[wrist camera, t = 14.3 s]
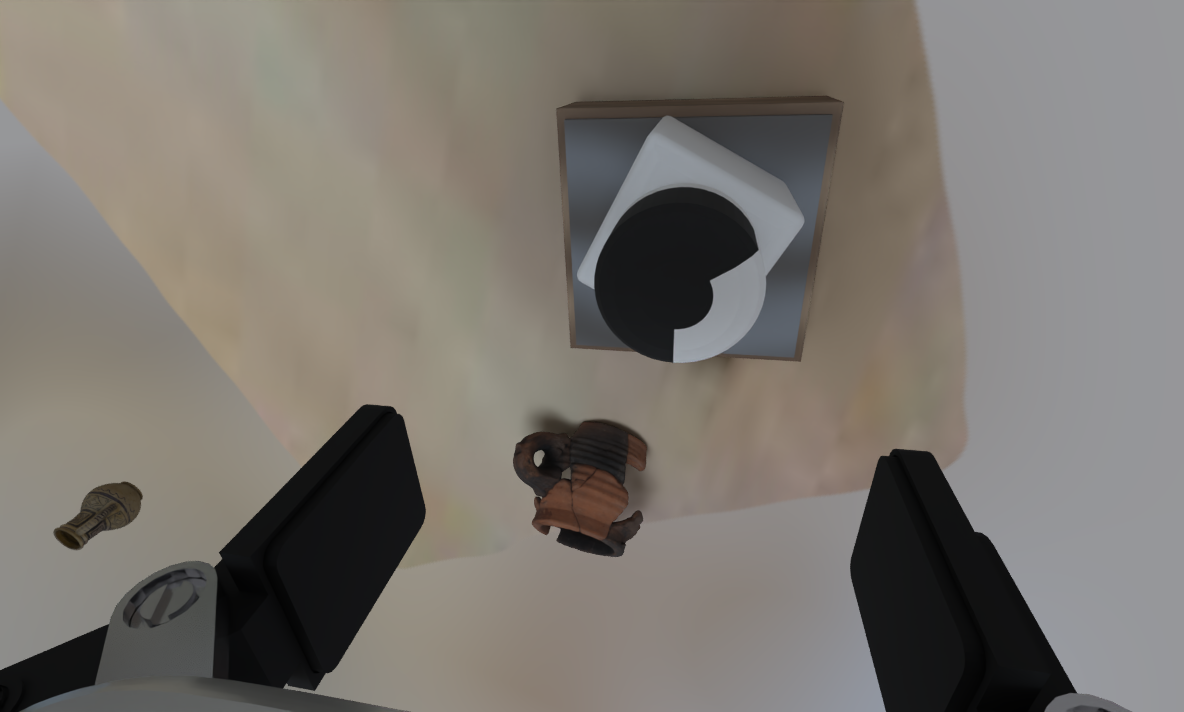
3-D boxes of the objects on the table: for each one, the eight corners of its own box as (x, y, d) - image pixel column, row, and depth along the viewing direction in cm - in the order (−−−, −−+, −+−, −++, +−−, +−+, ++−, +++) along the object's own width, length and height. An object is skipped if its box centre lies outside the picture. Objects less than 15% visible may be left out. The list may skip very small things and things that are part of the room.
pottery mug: (684, 458, 43) (659, 563, 39) (616, 473, 51) (589, 562, 47) (559, 385, 39) (517, 493, 35) (505, 413, 47) (466, 505, 43)
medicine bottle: (600, 235, 31) (543, 326, 20) (665, 111, 27) (635, 147, 17) (710, 296, 31) (709, 416, 21) (788, 183, 28) (833, 260, 17)
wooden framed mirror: (575, 102, 32) (554, 109, 28) (827, 95, 30) (846, 102, 26) (584, 318, 39) (569, 351, 35) (791, 328, 36) (801, 365, 32)
